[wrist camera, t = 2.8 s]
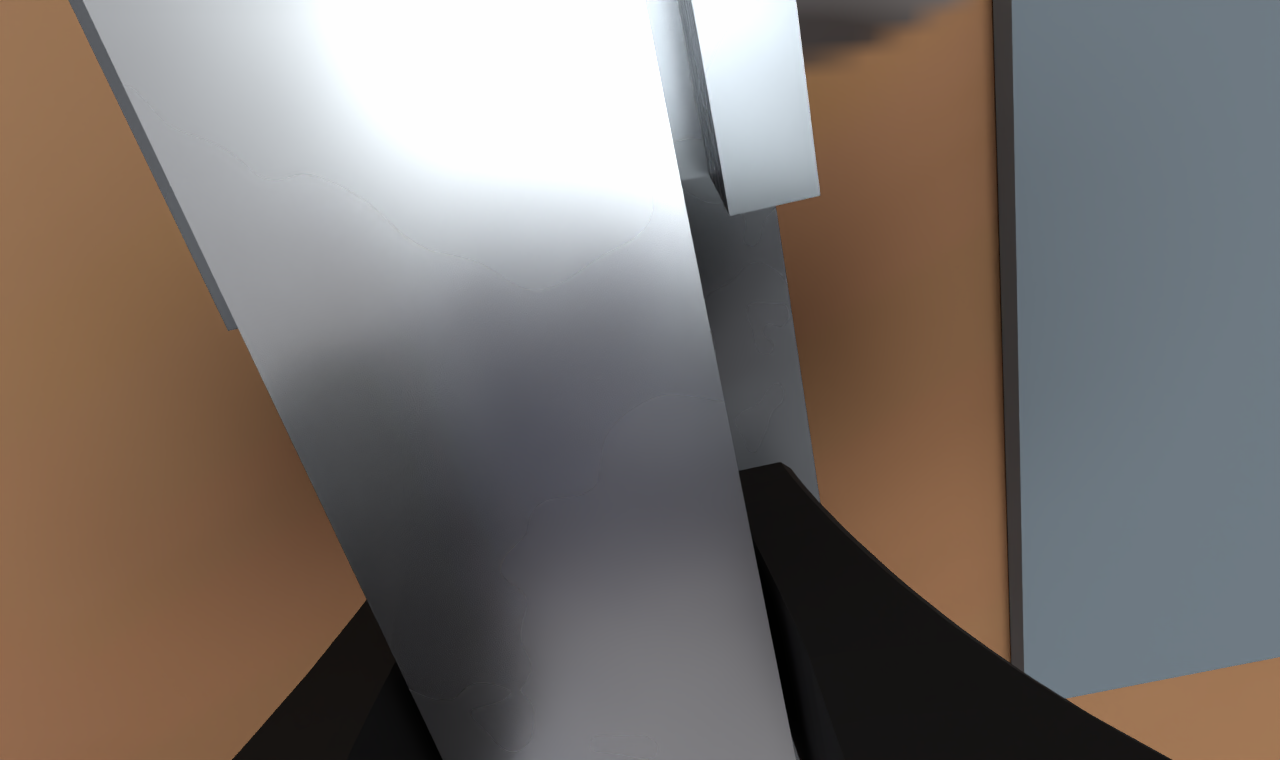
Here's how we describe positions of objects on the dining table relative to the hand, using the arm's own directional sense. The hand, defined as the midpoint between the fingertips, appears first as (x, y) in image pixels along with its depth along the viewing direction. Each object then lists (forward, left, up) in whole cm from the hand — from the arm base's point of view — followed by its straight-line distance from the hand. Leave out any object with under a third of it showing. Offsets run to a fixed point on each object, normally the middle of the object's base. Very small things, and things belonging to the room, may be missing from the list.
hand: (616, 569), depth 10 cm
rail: (0, 0, 0) cm, 0 cm away
